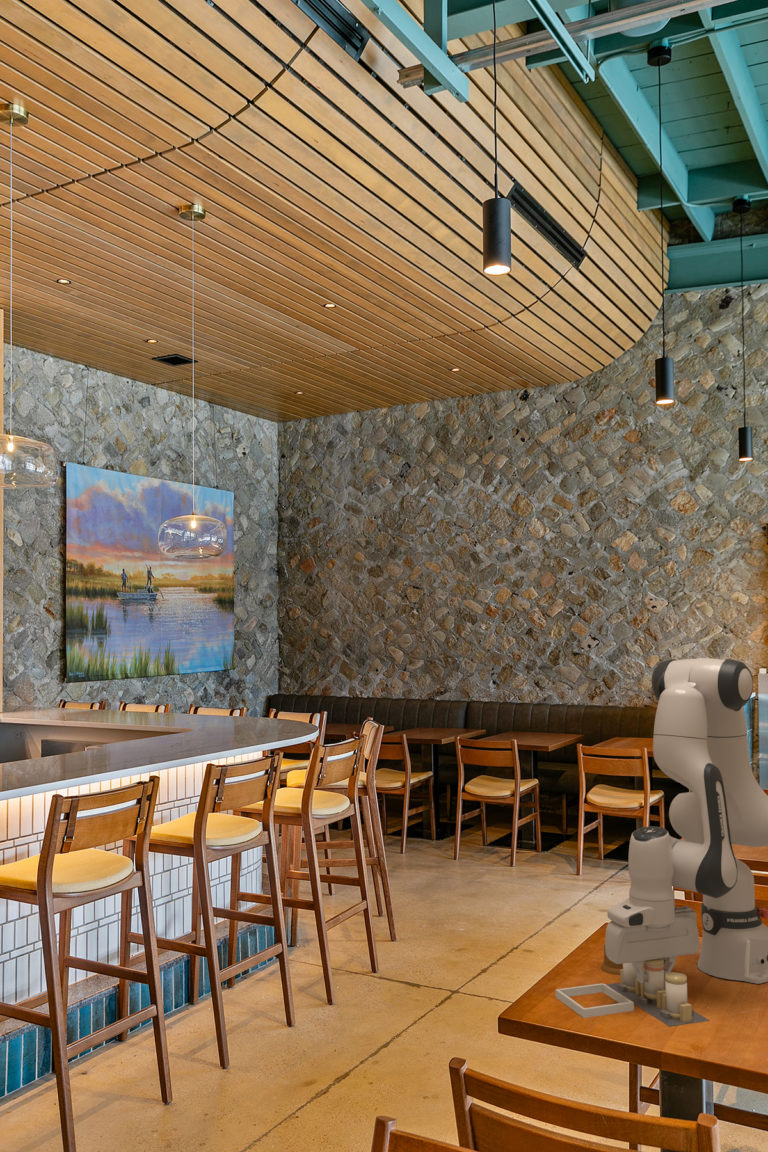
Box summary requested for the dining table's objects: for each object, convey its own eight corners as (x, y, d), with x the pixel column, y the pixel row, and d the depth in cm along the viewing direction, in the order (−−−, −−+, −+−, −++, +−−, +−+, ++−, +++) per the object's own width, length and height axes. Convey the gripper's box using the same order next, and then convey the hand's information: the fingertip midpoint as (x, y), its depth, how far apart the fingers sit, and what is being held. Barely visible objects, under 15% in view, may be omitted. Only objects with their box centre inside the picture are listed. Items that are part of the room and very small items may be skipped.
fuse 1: (636, 984, 198) (635, 947, 198) (647, 990, 194) (646, 953, 194) (619, 986, 196) (618, 949, 197) (630, 993, 193) (629, 955, 193)
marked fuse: (657, 991, 191) (656, 953, 191) (669, 998, 187) (668, 960, 187) (639, 993, 190) (638, 956, 190) (651, 1001, 186) (650, 962, 186)
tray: (603, 998, 194) (603, 983, 194) (634, 1018, 183) (633, 1002, 184) (555, 1004, 191) (555, 989, 191) (583, 1025, 180) (583, 1009, 180)
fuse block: (641, 987, 200) (640, 965, 200) (710, 1028, 178) (709, 1004, 179) (604, 992, 197) (603, 970, 198) (669, 1034, 176) (669, 1010, 176)
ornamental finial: (620, 968, 212) (642, 979, 205) (593, 973, 209) (615, 984, 202) (619, 932, 212) (641, 941, 206) (592, 936, 209) (614, 946, 203)
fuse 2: (679, 1010, 183) (678, 971, 184) (692, 1018, 180) (691, 977, 180) (662, 1013, 182) (661, 973, 183) (674, 1020, 178) (673, 980, 179)
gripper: (686, 901, 196) (688, 969, 195) (600, 910, 189) (601, 981, 188) (705, 909, 190) (707, 979, 189) (617, 919, 183) (619, 992, 182)
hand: (654, 980), depth 188 cm, fingers closed on marked fuse, 4 cm apart
